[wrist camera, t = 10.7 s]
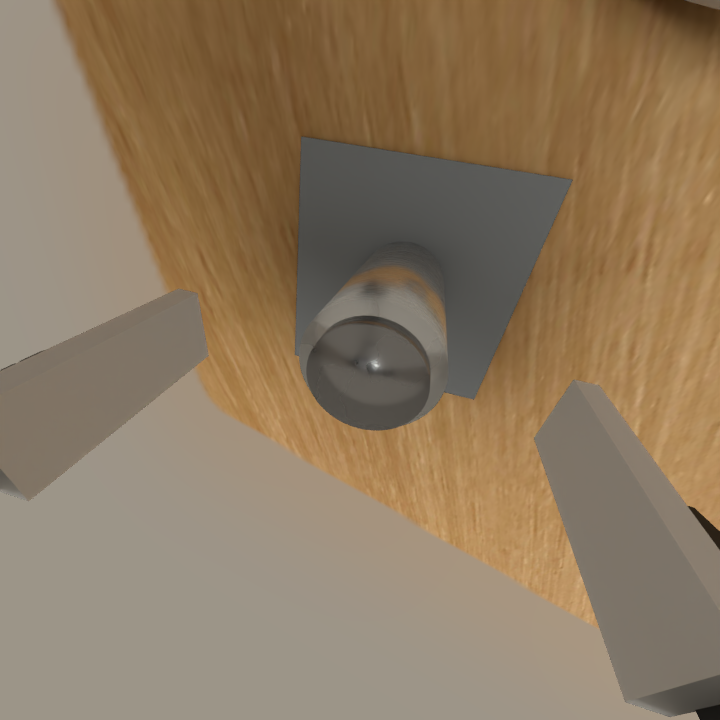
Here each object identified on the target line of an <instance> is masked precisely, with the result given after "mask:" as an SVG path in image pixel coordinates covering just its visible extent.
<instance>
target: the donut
mask: <svg viewBox="0 0 720 720" xmlns="http://www.w3.org/2000/svg"><path fill="white" fill-rule="evenodd" d="M685 1H689V2H692V3H696V4H699V5H703V6H707V7H710V8H714V9H719V10H720V0H685Z"/></svg>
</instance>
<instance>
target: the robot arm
mask: <svg viewBox="0 0 720 720" xmlns="http://www.w3.org/2000/svg"><path fill="white" fill-rule="evenodd" d="M208 356H209V355H208V349H207V344H206V338H205V333H204V327H203V321H202V316H201V310H200V305H199V299H198V294H197V293H195V292H191V291H186V290H182V289H177V290H175V291H172V292H170V293H168V294H166V295H164V296H162V297H159V298H157V299H155V300H153V301H151V302H149V303H147V304H144V305H142V306H140V307H138V308H136V309H133V310H131V311H129V312H127V313H125V314H123V315H120V316H118V317H116V318H114V319H112V320H110V321H108V322H106V323H103V324H101V325H99V326H97V327H94V328H92V329H90V330H88V331H86V332H83V333H81V334H79V335H77V336H75V337H73V338H71V339H68V340H66V341H64V342H62V343H60V344H58V345H56V346H53V347H51V348H49V349H47V350H44V351H41V352H39V353H36V354H34V355H32V356H30V357H28V358H25V359H23V360H21V361H20V362H18V363H16V364H12V365H10V366H8V367H6V368H4V369H2V370H1V371H0V491H1V492H3V493H6V494H8V495H12V496H14V497H17V498H21V499H23V500H26V501H29V500H31V499H32V498H33V497H34V496H36V495H37V494H38V493H40V492H41V491H42V490H43V489H44V488H46V487H47V486H48V485H49V484H51V483H52V482H53V481H54V480H56V479H57V478H58V477H59V476H61V475H62V474H63V473H64V472H65V471H67V470H68V469H69V468H70V467H72V466H73V465H74V464H75V463H77V462H78V461H79V460H80V459H81V458H83V457H84V456H85V455H86V454H88V453H89V452H90V451H91V450H93V449H94V448H95V447H96V446H97V445H99V444H100V443H101V442H102V441H104V440H105V439H106V438H107V437H109V436H110V435H111V434H112V433H114V432H115V431H116V430H117V429H118V428H120V427H121V426H122V425H124V424H125V423H126V422H127V421H128V420H130V419H131V418H132V417H133V416H134V415H135V414H137V413H138V412H139V411H141V410H142V409H143V408H145V407H146V406H147V405H148V404H149V403H151V402H152V401H153V400H154V399H156V398H157V397H158V396H159V395H160V394H162V393H163V392H164V391H165V390H167V389H168V388H169V387H170V386H172V385H173V384H174V383H175V382H177V381H178V380H179V379H180V378H181V377H183V376H184V375H185V374H187V373H188V372H189V371H190V370H191V369H193V368H194V367H195V366H196V365H198V364H199V363H200V362H201V361H203V360H204V359H205V358H206V357H208ZM534 440H535V443H536V446H537V449H538V452H539V454H540V457H541V460H542V463H543V466H544V469H545V472H546V475H547V478H548V480H549V483H550V486H551V489H552V492H553V495H554V498H555V501H556V504H557V506H558V509H559V512H560V515H561V518H562V521H563V524H564V527H565V530H566V532H567V535H568V538H569V541H570V544H571V547H572V550H573V553H574V556H575V559H576V561H577V564H578V567H579V570H580V573H581V576H582V579H583V582H584V585H585V587H586V590H587V593H588V596H589V599H590V602H591V605H592V608H593V611H594V613H595V616H596V619H597V622H598V625H599V628H600V631H601V634H602V637H603V639H604V642H605V645H606V648H607V651H608V654H609V657H610V660H611V663H612V665H613V668H614V671H615V674H616V677H617V679H618V683H619V686H620V689H621V691H622V694H623V697H624V700H625V702H626V703H629V704H632V705H635V706H639V707H641V708H644V709H647V710H650V711H653V712H656V713H659V714H662V715H665V716H668V717H672V716H677V715H681V714H685V713H690V712H695V711H696V712H697V714H698V717H699V719H700V720H720V531H719V530H718V529H716V528H715V527H714V526H713V525H712V524H711V523H710V522H709V521H708V520H707V519H706V518H705V517H704V516H702V515H701V514H700V513H699V512H698V511H697V510H696V509H695V508H693V507H690V506H687V505H686V503H685V502H684V501H683V499H682V498H681V497H680V495H679V494H678V492H677V491H676V490H675V488H674V487H673V486H672V484H671V483H670V482H669V480H668V479H667V477H666V476H665V475H664V473H663V472H662V471H661V469H660V468H659V466H658V465H657V464H656V462H655V461H654V460H653V458H652V457H651V456H650V454H649V453H648V451H647V450H646V449H645V447H644V446H643V445H642V443H641V442H640V440H639V439H638V438H637V436H636V435H635V434H634V432H633V431H632V430H631V428H630V427H629V425H628V424H627V423H626V421H625V420H624V419H623V417H622V416H621V414H620V413H619V412H618V410H617V409H616V408H615V406H614V405H613V404H612V402H611V401H610V399H609V398H608V397H607V395H606V394H605V393H604V391H603V390H602V388H601V387H600V386H599V385H595V384H591V383H587V382H582V381H578V380H573V381H572V383H571V384H570V386H569V387H568V389H567V390H566V392H565V393H564V395H563V396H562V398H561V399H560V400H559V402H558V403H557V405H556V406H555V408H554V409H553V411H552V412H551V414H550V415H549V417H548V418H547V420H546V421H545V423H544V424H543V426H542V427H541V428H540V430H539V431H538V433H537V434H536V436H535V437H534Z"/></svg>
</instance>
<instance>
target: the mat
mask: <svg viewBox="0 0 720 720" xmlns="http://www.w3.org/2000/svg"><path fill="white" fill-rule="evenodd" d="M571 182H572V180H571V179H564V178H558V177H552V176H546V175H539V174H533V173H527V172H521V171H514V170H508V169H502V168H496V167H489V166H483V165H477V164H471V163H464V162H458V161H452V160H445V159H439V158H433V157H427V156H420V155H414V154H408V153H402V152H395V151H389V150H383V149H377V148H370V147H364V146H358V145H352V144H345V143H339V142H333V141H326V140H320V139H314V138H308V137H301V165H300V200H299V234H298V268H297V302H296V337H295V355H297V356H299V351H300V344H301V340H302V337H303V335H304V332H305V330H306V329H307V327H308V326H309V324H310V323H311V321H312V320H313V319H314V318H315V317H316V316H317V315H318V314H319V313H320V311H321V310H322V309H323V308H324V307H325V306H326V305H327V304H328V303H329V302H330V300H331V299H332V298H333V297H334V296H335V295H336V294H337V293H338V292H339V290H340V289H341V288H342V287H343V286H344V285H345V284H346V283H347V282H348V281H349V279H350V278H351V277H352V276H353V275H354V274H355V273H356V272H357V271H358V270H359V268H360V267H361V266H362V265H363V264H364V263H365V262H366V261H367V260H368V258H369V257H370V256H371V255H372V254H373V253H374V252H375V251H376V250H378V249H379V248H381V247H382V246H384V245H387V244H389V243H393V242H398V241H406V242H412V243H416V244H419V245H421V246H423V247H424V248H426V249H427V250H429V251H430V252H431V253H432V254H433V255H434V256H435V257H436V259H437V260H438V262H439V264H440V266H441V269H442V271H443V276H444V294H445V314H446V334H447V354H448V381H447V384H446V388H445V390H444V392H446V393H450V394H454V395H458V396H462V397H466V398H470V399H474V398H475V396H476V394H477V392H478V389H479V387H480V385H481V383H482V380H483V378H484V376H485V374H486V372H487V369H488V367H489V365H490V363H491V360H492V358H493V356H494V354H495V352H496V349H497V347H498V345H499V343H500V340H501V338H502V336H503V334H504V332H505V329H506V327H507V325H508V323H509V320H510V318H511V316H512V314H513V311H514V309H515V307H516V305H517V303H518V300H519V298H520V296H521V294H522V291H523V289H524V287H525V285H526V283H527V280H528V278H529V276H530V274H531V271H532V269H533V267H534V265H535V263H536V260H537V258H538V256H539V254H540V251H541V249H542V247H543V245H544V242H545V240H546V238H547V236H548V234H549V231H550V229H551V227H552V225H553V222H554V220H555V218H556V216H557V214H558V211H559V209H560V207H561V205H562V202H563V200H564V198H565V196H566V194H567V191H568V189H569V187H570V185H571Z"/></svg>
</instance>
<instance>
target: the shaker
mask: <svg viewBox="0 0 720 720" xmlns="http://www.w3.org/2000/svg"><path fill="white" fill-rule="evenodd" d="M299 361H300V367H301V371H302V374H303V377H304V380H305V382H306V384H307V386H308V387H309V389H310V391H311V392H312V394H313V396H314V397H315V399H316V400H317V402H318V403H319V404H320V405H321V406H322V407H323V408H324V409H325V410H326V411H327V412H328V413H329V414H330V415H332V416H333V417H335V418H336V419H338V420H339V421H341V422H343V423H345V424H348V425H350V426H353V427H356V428H360V429H365V430H388V429H393V428H396V427H399V426H402V425H405V424H408V423H411V422H413V421H416V420H418V419H420V418H421V417H423V416H424V415H426V414H427V413H428V412H429V411H431V410H432V409H433V408H434V406H435V405H436V404H437V403H438V401H439V400H440V398H441V397H442V395H443V393H444V390H445V388H446V384H447V381H448V354H447V334H446V314H445V294H444V276H443V271H442V269H441V266H440V264H439V262H438V260H437V259H436V257H435V256H434V255H433V254H432V253H431V252H430V251H429V250H427V249H426V248H424V247H423V246H421V245H419V244H416V243H412V242H406V241H398V242H393V243H389V244H387V245H384V246H382V247H381V248H379V249H378V250H376V251H375V252H374V253H373V254H372V255H371V256H370V257H369V258H368V260H367V261H366V262H365V263H364V264H363V265H362V266H361V267H360V268H359V270H358V271H357V272H356V273H355V274H354V275H353V276H352V277H351V278H350V279H349V281H348V282H347V283H346V284H345V285H344V286H343V287H342V288H341V289H340V290H339V292H338V293H337V294H336V295H335V296H334V297H333V298H332V299H331V300H330V302H329V303H328V304H327V305H326V306H325V307H324V308H323V309H322V310H321V311H320V313H319V314H318V315H317V316H316V317H315V318H314V319H313V320H312V321H311V323H310V324H309V326H308V327H307V329H306V330H305V332H304V335H303V337H302V340H301V344H300V351H299Z"/></svg>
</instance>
